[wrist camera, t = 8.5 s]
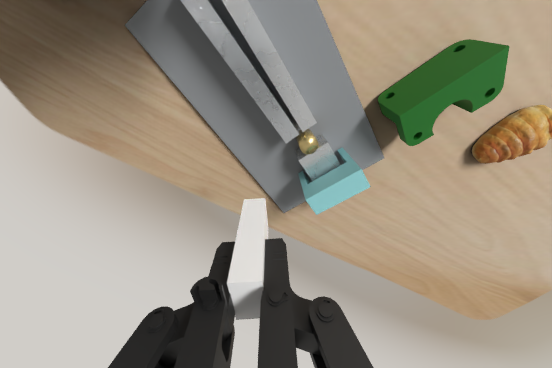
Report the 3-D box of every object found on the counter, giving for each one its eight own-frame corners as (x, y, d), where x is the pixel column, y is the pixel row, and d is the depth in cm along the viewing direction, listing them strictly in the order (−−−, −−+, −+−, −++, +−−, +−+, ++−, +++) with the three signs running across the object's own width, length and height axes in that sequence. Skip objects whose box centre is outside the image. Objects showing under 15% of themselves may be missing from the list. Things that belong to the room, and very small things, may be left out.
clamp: (383, 112, 33) (393, 153, 28) (373, 81, 29) (382, 122, 24) (485, 74, 27) (521, 118, 21) (488, 27, 23) (534, 68, 18)
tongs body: (182, -19, 21) (167, -33, 17) (215, -53, 20) (205, -76, 16) (322, 191, 34) (328, 204, 31) (346, 178, 33) (355, 190, 30)
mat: (127, 25, 23) (124, 25, 22) (262, -121, 18) (262, -127, 17) (283, 210, 37) (283, 212, 36) (382, 156, 32) (384, 158, 32)
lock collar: (298, 173, 32) (305, 199, 26) (342, 147, 30) (361, 169, 24) (307, 186, 34) (316, 214, 27) (350, 162, 32) (370, 186, 25)
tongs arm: (177, -13, 21) (161, -25, 18) (190, -29, 20) (177, -44, 17) (284, 135, 29) (286, 143, 26) (296, 126, 28) (299, 134, 25)
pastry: (473, 168, 34) (495, 179, 31) (463, 138, 31) (486, 147, 28) (538, 133, 31) (570, 141, 28) (533, 96, 29) (568, 101, 25)
